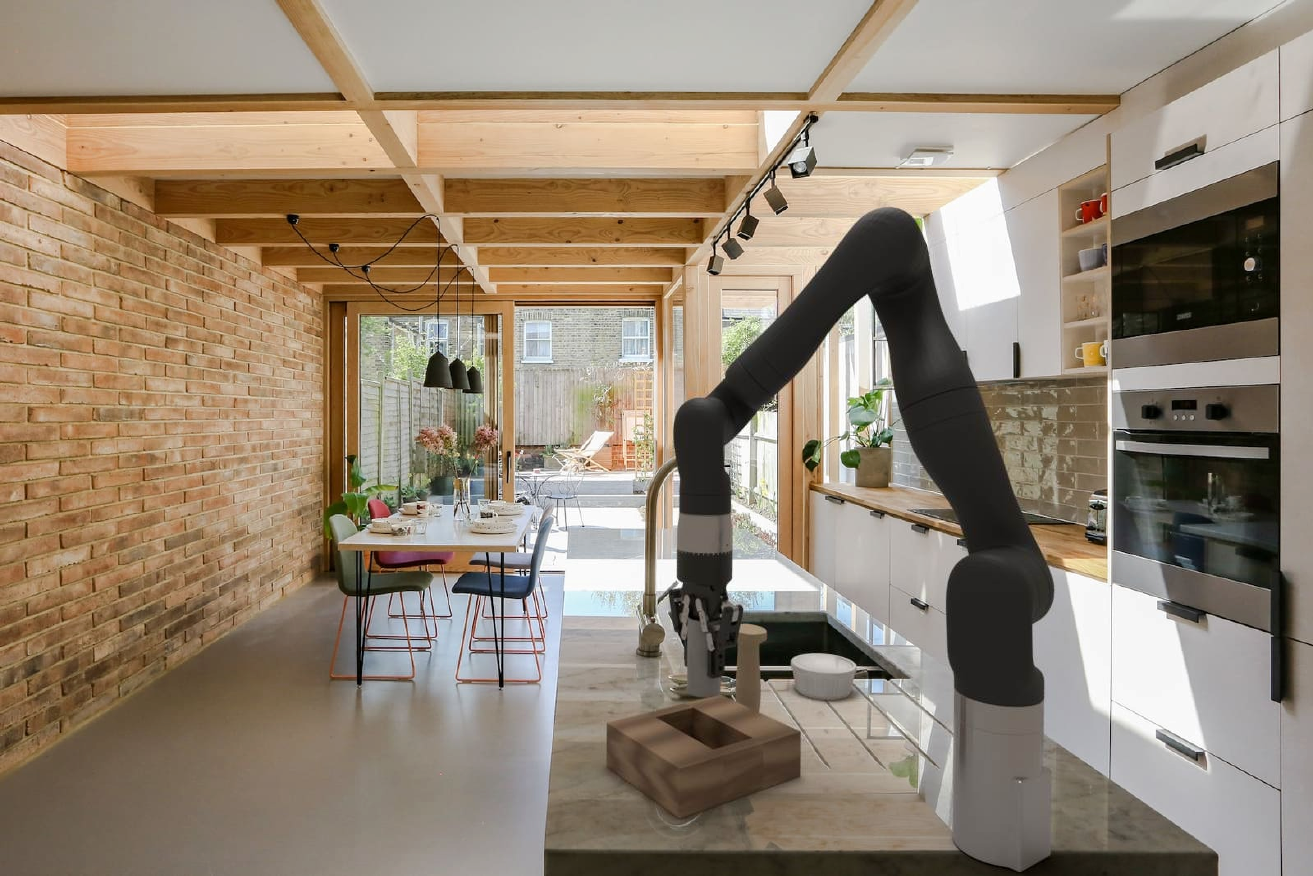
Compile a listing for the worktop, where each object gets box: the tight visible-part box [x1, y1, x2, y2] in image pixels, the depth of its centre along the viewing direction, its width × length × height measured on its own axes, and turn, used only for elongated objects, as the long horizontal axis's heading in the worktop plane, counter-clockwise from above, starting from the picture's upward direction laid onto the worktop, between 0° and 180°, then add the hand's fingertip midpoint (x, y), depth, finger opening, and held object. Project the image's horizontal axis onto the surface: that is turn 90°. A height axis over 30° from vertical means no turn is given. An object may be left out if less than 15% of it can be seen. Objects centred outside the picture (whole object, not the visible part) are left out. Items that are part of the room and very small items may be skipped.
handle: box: [735, 623, 768, 713], centre depth 121 cm, size 5×6×15 cm
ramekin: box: [790, 652, 857, 701], centre depth 136 cm, size 11×11×5 cm
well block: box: [606, 694, 802, 819], centre depth 105 cm, size 17×20×6 cm
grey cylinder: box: [686, 616, 722, 698], centre depth 105 cm, size 4×4×10 cm
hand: (703, 671), depth 105 cm, fingers closed on grey cylinder, 4 cm apart
